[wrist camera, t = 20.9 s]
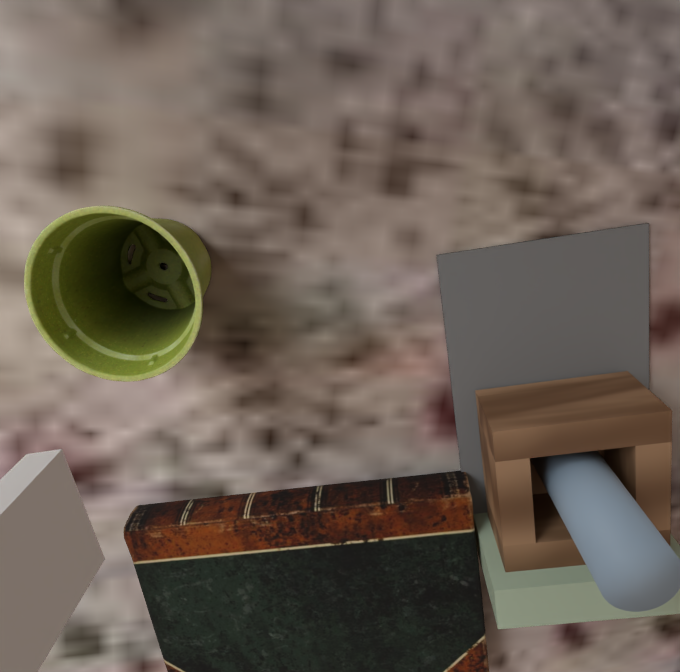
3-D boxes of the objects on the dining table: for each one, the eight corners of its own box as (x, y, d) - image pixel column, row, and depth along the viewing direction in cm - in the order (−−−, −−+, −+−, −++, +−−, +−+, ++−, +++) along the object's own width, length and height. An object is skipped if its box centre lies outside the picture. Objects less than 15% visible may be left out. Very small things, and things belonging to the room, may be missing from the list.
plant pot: (253, 217, 37) (220, 238, 29) (220, 349, 40) (181, 402, 32) (110, 173, 37) (35, 181, 28) (87, 309, 40) (13, 353, 31)
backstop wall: (472, 511, 43) (494, 590, 35) (640, 494, 42) (699, 571, 34) (476, 545, 44) (498, 629, 36) (640, 528, 43) (698, 612, 35)
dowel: (528, 430, 39) (597, 550, 28) (589, 421, 39) (684, 539, 27) (532, 481, 40) (600, 616, 29) (591, 473, 40) (683, 606, 28)
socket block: (475, 390, 39) (492, 432, 34) (627, 370, 38) (672, 410, 33) (487, 515, 42) (505, 572, 37) (629, 499, 41) (670, 556, 36)
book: (190, 671, 50) (482, 649, 48) (177, 709, 47) (491, 687, 44) (138, 498, 45) (463, 464, 42) (119, 528, 41) (472, 492, 39)
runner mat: (436, 255, 37) (436, 255, 37) (647, 222, 36) (649, 223, 36) (465, 512, 43) (466, 514, 43) (647, 493, 42) (649, 495, 42)
